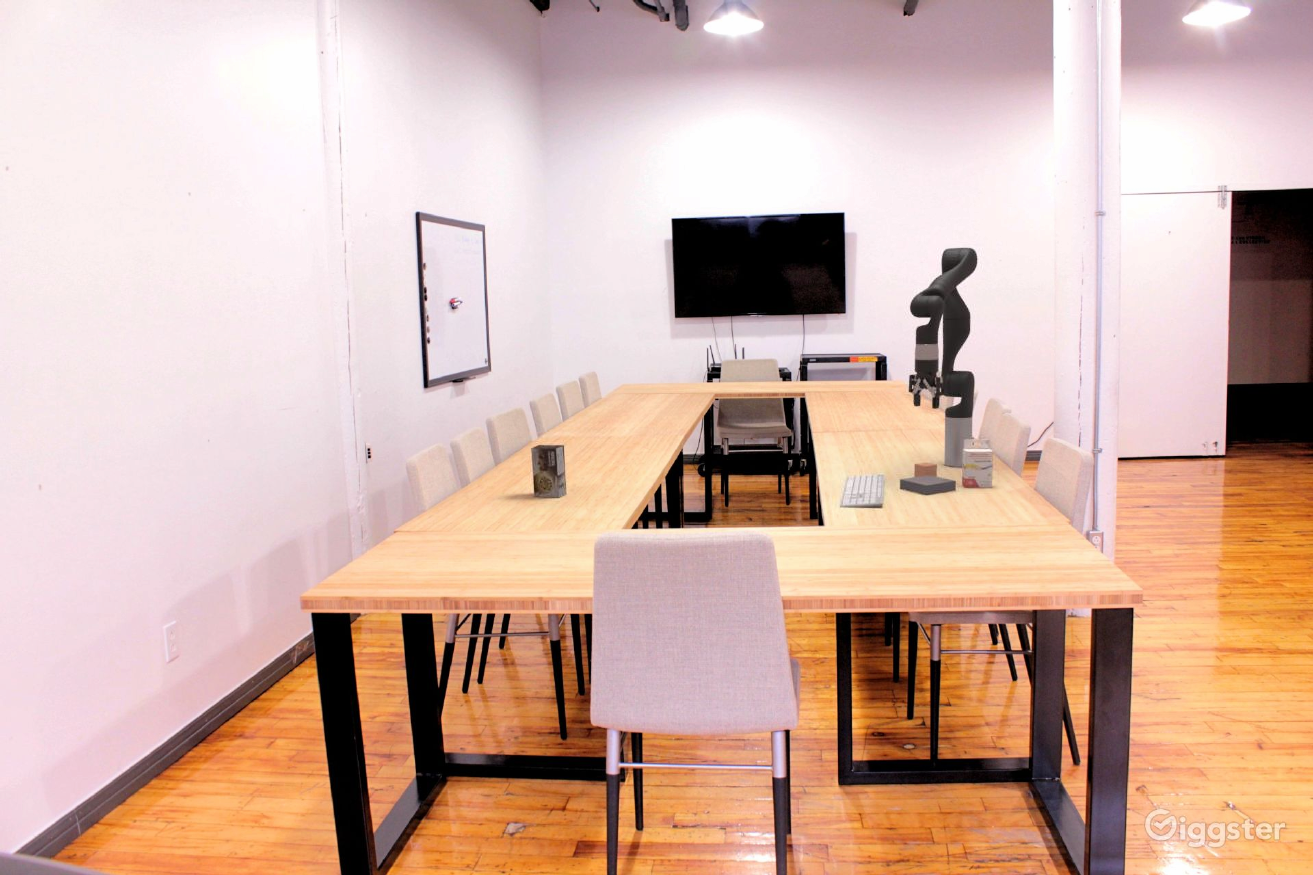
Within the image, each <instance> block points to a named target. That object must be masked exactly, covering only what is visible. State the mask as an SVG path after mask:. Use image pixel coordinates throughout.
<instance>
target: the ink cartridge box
mask: <svg viewBox="0 0 1313 875" xmlns="http://www.w3.org/2000/svg"><path fill="white" fill-rule="evenodd" d="M972 443H974V445H972ZM976 443H978V444H976ZM990 444H991V441H990V439H987V438H985V439H983V438H981V439H977V438H974V439H972V440H966V439H965V440H964V449H963V464H962V467H961V468H962V471H961V472H962V474H961V485H962V486H963V487H964V488H993V471H994V470H993V469H994V468H993V467H994V463H993V461H994V451H993V450H992V449H990Z"/></svg>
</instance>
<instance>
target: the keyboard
mask: <svg viewBox="0 0 1313 875" xmlns="http://www.w3.org/2000/svg"><path fill="white" fill-rule="evenodd" d="M884 487H885V474H884V473H880V474H866V475H865V474H864V475H863V474H862V475H856V476H855V475H852V476H846V478H845V482H844V486H843V489H842V494H841V499H840V503H839V507H840V508H867V507H868V508H869V507H870V508H883V504H884Z"/></svg>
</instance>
